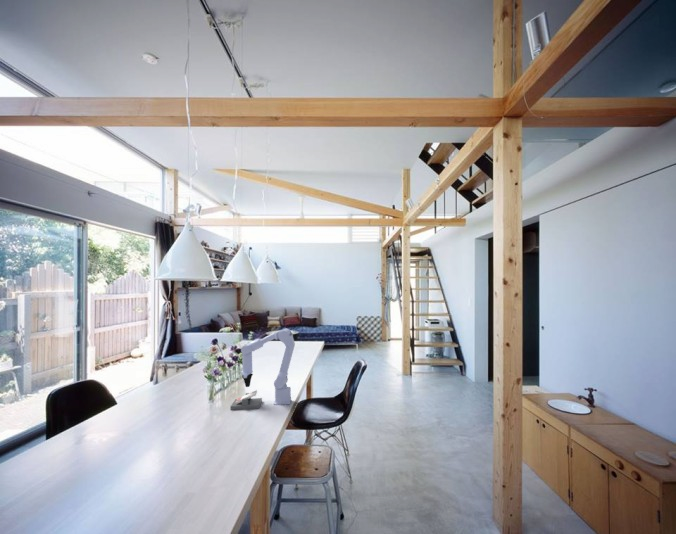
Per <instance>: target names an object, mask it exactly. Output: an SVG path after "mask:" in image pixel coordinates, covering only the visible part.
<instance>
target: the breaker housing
mask: <svg viewBox="0 0 676 534" xmlns="http://www.w3.org/2000/svg"><path fill="white" fill-rule="evenodd" d="M249 393H250V392H246V393H245V394H244V396H245V395H247V394H249ZM237 399H238V398H236V399H234V400H233V402H232V403H231V405H230V411H236V410H237V411H238V410H257V409H260V407H261V405H262V403H263V398H262V397H260V398H259V397H258V398H257V397H256V398H252V397H251V398H249V399H248V398H243V399H242V402H240V403H238V404H236V401H237Z"/></svg>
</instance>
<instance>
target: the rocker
mask: <svg viewBox="0 0 676 534" xmlns="http://www.w3.org/2000/svg"><path fill="white" fill-rule="evenodd" d="M248 393H249V394H247V395H245V394H244V395H243V396H240V397H238V398H236V399H237V401H236V404H238V403H240V402H242V399H243V398H248V399H249V398H251V399H252V398H253V397H256V396H257V394H258V390H257V389H256V390H254V391H252V392H248Z"/></svg>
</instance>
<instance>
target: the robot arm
mask: <svg viewBox="0 0 676 534" xmlns="http://www.w3.org/2000/svg"><path fill="white" fill-rule="evenodd" d="M272 340H276V341H278V340H279V341H280V342H282V343H283V344H284V346H285V350H284V353H283V357H282V359H281V360H282V361H281V364H280V369H279V372H278V375H277V377H276V379H275V380H274V381H273V386H274V396H275V397H274V398H275V399H274V402H273V406H280V405H291V400H292V397H291V394H292V393H291V386H288V385H287V383H288V379H289V378H288V375H289V373H288V372H289V368H290V365H291V360H292V357H293V353H294V349H295V344H296V343H295V339H294V335H293V332H292V330H291V329H290V328H286V327H285V328H283V329H279V330H278V331H274V332H273V333H271V334H269V335H267V336H265V337H263V338H254V340H253V341H250V342H247V343H246V344H244V345H243V346H242V347H241V348H240V352H241V355H242V357H241V358H242V370H241V371H240V374H242V379H243V382H244V385H245V387H246V388H249V387H250V386H251V380H252V377H253V375H254V374H253V372H254V371H253V352H255V351H257V350H260V349H261V348H263V347H264V344H266V343H268V342H271V341H272Z"/></svg>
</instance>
